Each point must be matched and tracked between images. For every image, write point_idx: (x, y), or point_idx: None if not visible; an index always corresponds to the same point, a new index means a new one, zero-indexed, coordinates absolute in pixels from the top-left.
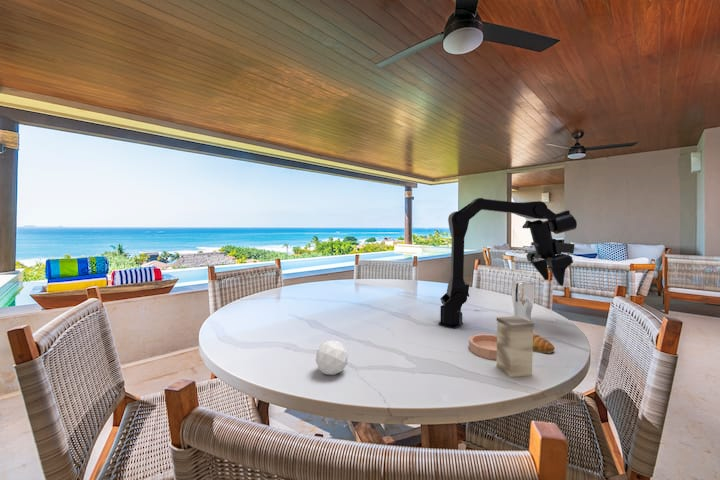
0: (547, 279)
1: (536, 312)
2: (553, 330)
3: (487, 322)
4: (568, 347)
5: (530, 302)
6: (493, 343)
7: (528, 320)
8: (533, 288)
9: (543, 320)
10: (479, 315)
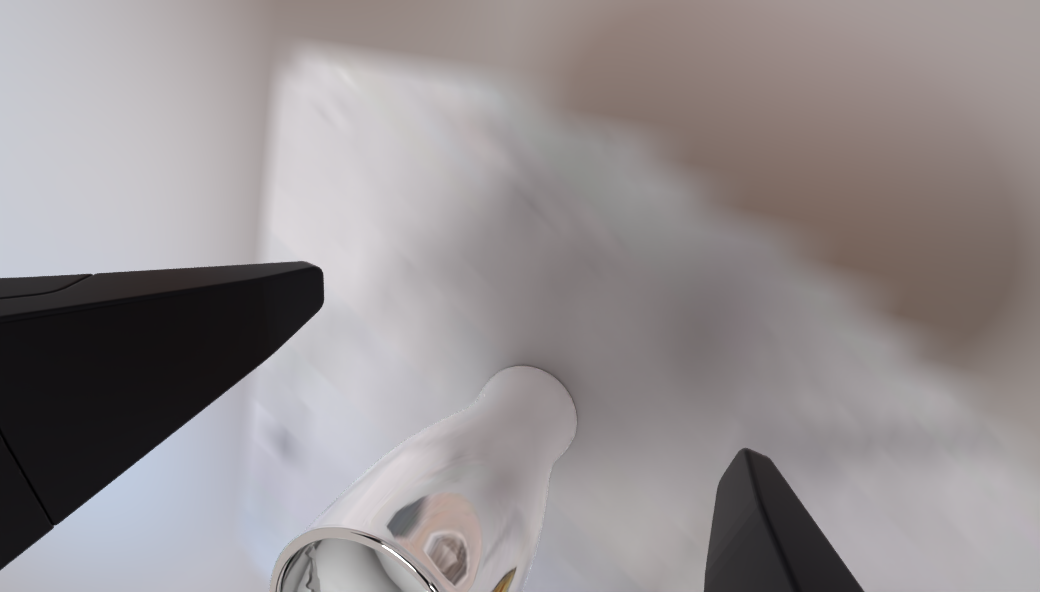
0: (322, 282)
1: (357, 147)
2: (657, 325)
3: None
4: (931, 494)
5: (542, 515)
6: None
7: (562, 436)
8: (484, 571)
9: (491, 230)
10: None
